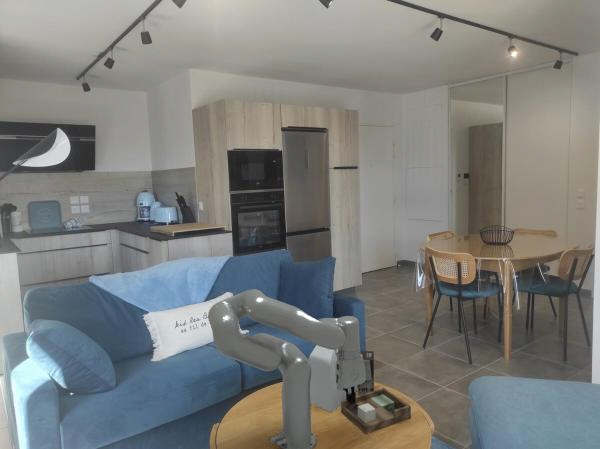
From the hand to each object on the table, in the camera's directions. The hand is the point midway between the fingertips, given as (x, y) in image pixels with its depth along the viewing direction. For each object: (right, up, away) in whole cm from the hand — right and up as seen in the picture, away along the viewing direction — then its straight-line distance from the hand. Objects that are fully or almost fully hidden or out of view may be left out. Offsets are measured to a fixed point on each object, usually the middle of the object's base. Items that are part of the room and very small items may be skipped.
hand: (351, 402), depth 156 cm
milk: (-7, -8, +21) cm, 24 cm away
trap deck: (+10, -9, +10) cm, 17 cm away
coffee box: (+9, -7, +27) cm, 30 cm away
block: (+6, -7, +4) cm, 10 cm away
